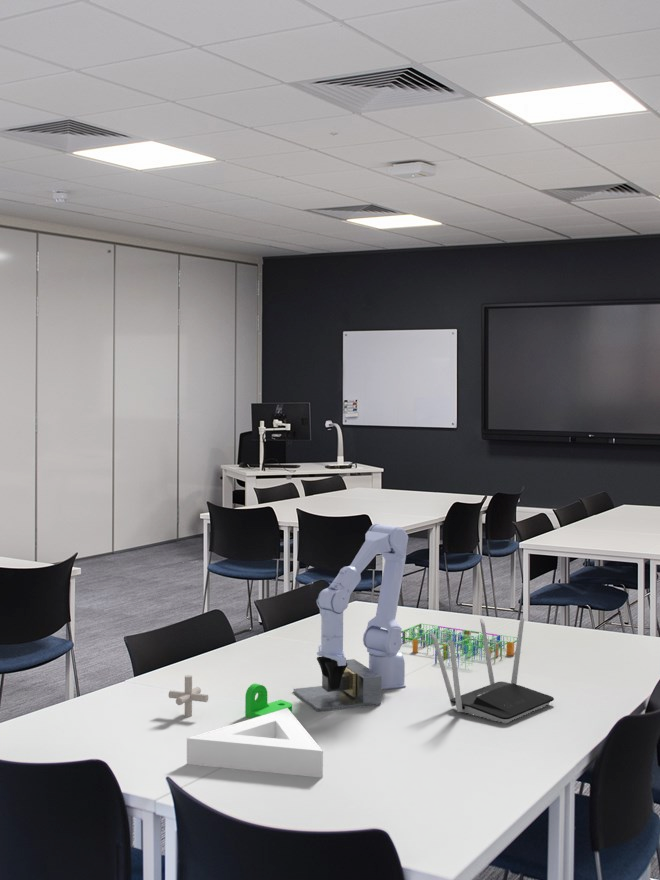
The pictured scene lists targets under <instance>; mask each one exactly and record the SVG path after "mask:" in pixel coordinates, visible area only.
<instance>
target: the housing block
mask: <svg viewBox="0 0 660 880" xmlns="http://www.w3.org/2000/svg"><path fill="white" fill-rule="evenodd" d="M346 663H347V668H348V669H350V670H351V671H353V672H354V673H356V697H352V696H351V695H349V694H348V693H347V692H345V691H344V690H341V691H332V692H327V691H326V690H324V689H323V688H322V685H317V686H310V687H309V686H308V687H298V688H293V693H294V694H295V695H296V696H298V698H300V699H301V700H303V702H305V703H306V704H307V705H308V706H310V707H311V708H312V709H313V710H314V711H316V712H318V713H321V712H329V711H336V710H337V711H338V710H346V709H355V708H362V707H363V708H365V707H373V705H374V706H380V705H379V704H381V705H382V689H381V676H380V675H378V674H377V673H375V672H374V671H372V670H370V669H369V667H367V666H366V665H364V664H362V663H361V662H359V661H358V660H356V659H355V658H352V659H346ZM364 706H365V707H364Z"/></svg>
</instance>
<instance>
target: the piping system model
mask: <svg viewBox="0 0 660 880" xmlns="http://www.w3.org/2000/svg"><path fill="white" fill-rule="evenodd" d="M423 626H429V624H426V623H423ZM431 626H432V628H429V629H428V627H425V628H426V629H425V628H424V627H423V628H422V623H419V624H416V625H413V626H412V627H409V628H406V629H402V630H401V639H402V644H407V642H408V643H409V641H411V646H412V653H416V654H423V655H429V650H430V648H429V646H431V645H434V643H433V639H432V635H431V632H433V633H434V634H435V635H436V638H437V641H438V644H439V648H440V651H441V652H442V658H443V661H447V659H449V658H450V654H451V653H450V649H449V647H450V644H449V643H448V641H449V639H450V640H452V641H453V643H454V647H455V648H456V649H455V655H456V657H457V659H458V660H456V663H457V668H460V664H459V663H460V659H461V658H462V656H464V660H465V661H462V662H461V665H463V664H465V665H464V667H465V668H464V669H467V668H466V667H467V664H468V665H470V664H471V665H472V662H467V660H468V661H469V660H470V657H471V660H473V659H474V660H475V658H476V655H478V656H479V657H478V658H479V660H480V661H482V659H483V657H482V655H483V656H486V655H485V653H483V652H485V648H484V642H483V635H482V631H477V630H476V631H475V630H468V629H461V628H455V627H446V626H440V625H434V624H430V627H431ZM440 629H441V630H440ZM416 631H417V632H416ZM456 631H460V632H456ZM406 633H408V634H406ZM472 634H476V635H472ZM486 635H487V641H488V647H489V653H490V659H491V660H494V663H496V658H497V657H499V654H500V659H503V650H506V654H505V655H506V656H515V646H516V644H515V643H517V637H518V636H517V637H516V636H511V635H510V636H509V635H503V634H495V633H488V632H486ZM488 635H489V636H488ZM502 637H503V638H502ZM505 638H509V640H508V641H507V640H506V641H505ZM511 638H513V639H514V640H513V641H512V640H511ZM515 638H516V640H515ZM439 639H440V642H439ZM502 639H503V640H502ZM419 643H420V647H421V648H425V647H427V650H426V653H425V652H419ZM402 644H401V645H402ZM505 645H506V648H505ZM459 649H460V650H459ZM493 650H494V651H493ZM434 651H435V653H434V657H435V658H434V660H435V662H434V664H437V663H438V657H437V653H436V650H434ZM459 652H460V653H459ZM492 652H494V655H493V656H494V657H492ZM482 653H483V654H482ZM491 657H492V658H491ZM448 666H449V667H451V664H448Z"/></svg>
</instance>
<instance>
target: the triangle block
mask: <svg viewBox="0 0 660 880" xmlns="http://www.w3.org/2000/svg"><path fill="white" fill-rule="evenodd" d="M323 756H324V751H323V749H322V748H321V747H320V746H319V744H318V743H317V742H316V741H315V739H314V738H313V737H312V736H311V734H310V733H309V732H308V731H307V729H305V727H304V726H303V725H302V724H301V722H300V721H299V720H298V718H297V717H296V716H295V715H294V714H293V712H291V711H290V710H289V709H288V708H285V709H282V710H279V711H276V712H272V713H269V714H266V715H262V716H259V717H256V718H249V719H246V720H243V721H239V722H236V723H233V724H229V725H226V726H222V727H220V728H216V729H213V730H209V731H206V732H203V733H199V734H196V735H193V736H190V737H187V738H186V765H193V766H203V767H204V766H205V767H210V768H211V767H214V768H223V769H233V770H234V769H235V770H244V771H253V772H264V773H272V774H274V773H275V774H283V775H284V774H285V775H293V776H303V777H304V776H305V777H314V778H315V777H316V778H324V777H323V776H324V774H323V773H324V769H323V767H324V764H323V763H324V757H323Z"/></svg>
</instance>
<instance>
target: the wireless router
mask: <svg viewBox="0 0 660 880" xmlns="http://www.w3.org/2000/svg"><path fill="white" fill-rule="evenodd" d="M479 620H480V627H481V632H482V635H483V642H484V646H483V647H484V648H483V649H485V650H484V654H485V655H484V656H485V662H486V667H487V672H488V678H489V684H488V685H486V686H482V687H480V688H478V689H475V690H472V691H469V692H466V693H464V694H461V688H460V687H461V686H460V679H459V672H458V662H457V654H455V653H456V647H455V645H454V643H453V642H454V641H452V640H450V639H449V640H448V644H450V646H449V652H450V653H449V654H450V663H451V670H452V681H453V687H452V685H451V681H450V679H449V678H450V677H449V675H448V671H447V668H446V663H445V662H444V661H445V660H443V657H442V656H443V653H442V650H441V651H440V645H439V644H438V643H439V640H438V641H437V638H436V635H435V634H434V633H433V632H434V631H433V632H431V631H430V635H432V639H433V643H434V644H433V647H434V649H435V650H436V653H437V661H438V665H439V667H440V670H441V674H442V677H443V681H444V684H445V688H446V692H447V695H448V698H449V702H450V705H451V707H454V706H455V708H456V712H458V713H462V712H466V713H470V714H474V715H476V716H475V717H477V716H481V717H484V718H483V719H485V718H488V719H487V720H489V719H491V720H490V721H493V720H494V721H493V722H496V721H498V722H497V723H500V722H502V723H501V724H508V723H511V722H512V720H513V721H515V720H517V718H518V719H520V718H522V717H524V716H523V715H525V716H527V715H529V714H531V713H530V712H532V711H534V712H536V711H535V710H537V709H539V708H541V707H544V706H546V705H548V706H549V705H550V703H551V702H552V701H554V700H555V698H554V696H551V695H549V694H546V693H542V692H540V691H537V690H534V689H531V688H528V687H525V686H523V685H519V684H517V683H518V676H519V675H518V674H519V667H520V659H521V657H520V656H521V652H522V651H521V648H522V641H523V632H524V623H525V618H524V617H522V618H521V619H520V621H519V622H518V623H519V624H518V631H517V638H516V640H517V642H516V644H515V650H514V653H515V654H514V659H513V667H512V674H511V680H510V682H507V681H496V682H495V678H494V671H493V665H492V658H491V659H490V653H489V647H488V641H487V639H488V634H486V633H487V629H486V625H485V621H484V620H483V618H479ZM435 650H434V651H435ZM453 688H454V689H453ZM546 707H547V706H546ZM544 708H545V707H544ZM541 709H542V708H541ZM539 710H540V709H539ZM537 711H538V710H537ZM466 713H465V714H466ZM528 713H529V714H528ZM532 713H533V712H532ZM470 714H469V715H470ZM526 714H527V715H526ZM474 715H473V716H474ZM521 716H522V717H521ZM481 717H480V718H481ZM519 717H520V718H519ZM514 719H515V720H514ZM510 721H511V722H510Z"/></svg>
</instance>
